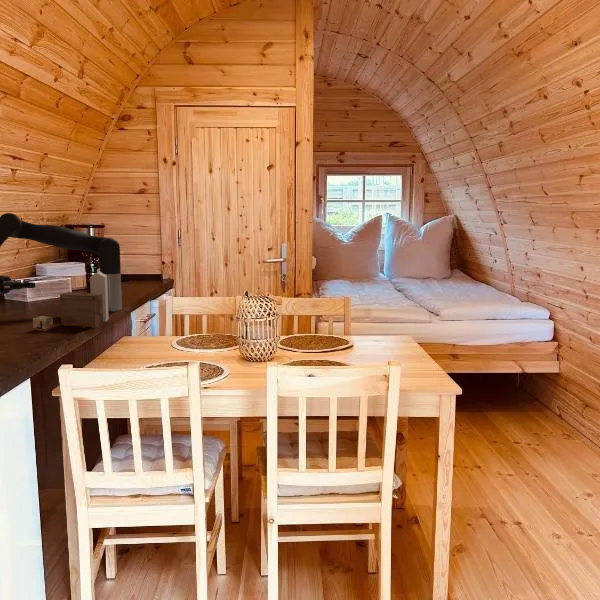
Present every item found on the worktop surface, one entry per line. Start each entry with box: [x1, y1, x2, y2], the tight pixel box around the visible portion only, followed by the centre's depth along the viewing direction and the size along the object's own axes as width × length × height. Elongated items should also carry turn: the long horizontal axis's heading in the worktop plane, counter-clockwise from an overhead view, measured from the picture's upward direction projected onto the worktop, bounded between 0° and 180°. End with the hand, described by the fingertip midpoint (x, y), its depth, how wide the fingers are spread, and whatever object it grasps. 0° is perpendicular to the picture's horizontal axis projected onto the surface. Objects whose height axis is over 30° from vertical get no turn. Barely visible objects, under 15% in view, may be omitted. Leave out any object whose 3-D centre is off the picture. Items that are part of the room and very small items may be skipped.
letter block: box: [32, 315, 54, 329], centre depth 229 cm, size 5×5×5 cm
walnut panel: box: [59, 291, 104, 329], centre depth 239 cm, size 6×15×13 cm, turn 79°
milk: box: [89, 267, 109, 323], centre depth 248 cm, size 6×6×22 cm
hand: (34, 285), depth 241 cm, fingers closed
